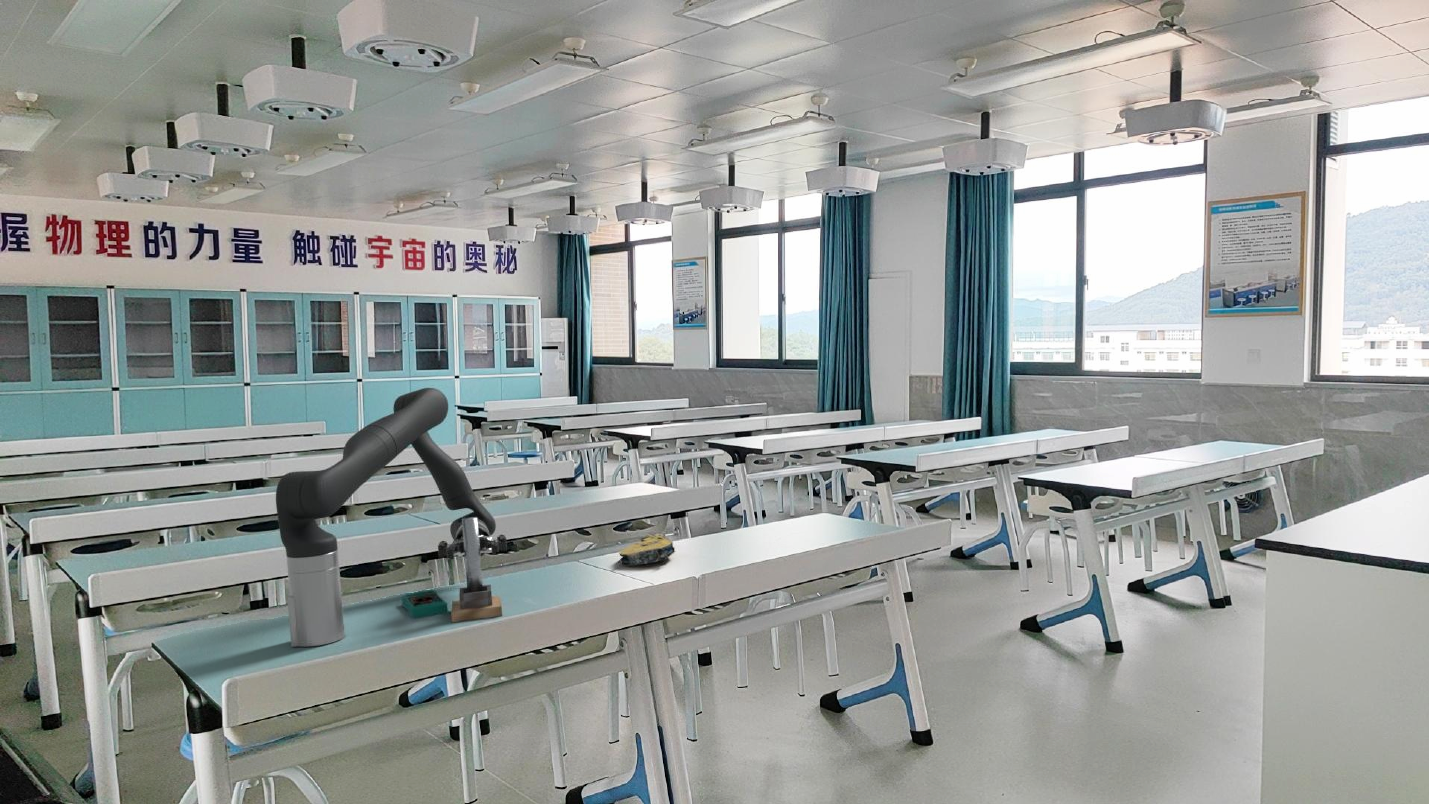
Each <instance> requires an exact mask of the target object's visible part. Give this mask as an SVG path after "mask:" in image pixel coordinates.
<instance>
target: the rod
mask: <svg viewBox="0 0 1429 804" xmlns="http://www.w3.org/2000/svg"><path fill="white" fill-rule="evenodd" d="M462 527H463V540H464V553H465V557H464V563H465V564H464V565H465V575H466V576H465V578H466V587H467V593H472V592H480V591H483V585H484V584H483V583H484V582H483V571H482V570H483V569H482V560H481V559H482V558H481V557H482V556H481V555H480V542H479V528H478V518H477V517H469V518H464V519H462Z"/></svg>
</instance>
